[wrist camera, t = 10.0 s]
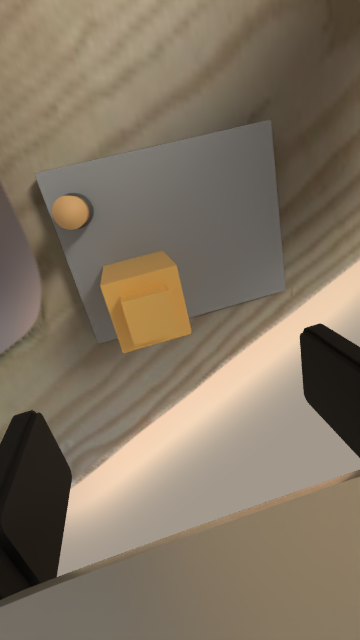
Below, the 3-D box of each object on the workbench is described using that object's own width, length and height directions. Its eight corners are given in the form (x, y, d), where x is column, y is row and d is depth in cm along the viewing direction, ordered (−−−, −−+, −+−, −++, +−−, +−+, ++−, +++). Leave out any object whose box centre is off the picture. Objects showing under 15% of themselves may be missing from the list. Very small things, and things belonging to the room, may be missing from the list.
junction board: (262, 123, 25) (304, 102, 19) (278, 286, 30) (314, 305, 25) (39, 174, 23) (15, 167, 18) (98, 337, 29) (95, 369, 23)
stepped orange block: (162, 250, 25) (180, 270, 19) (176, 305, 27) (196, 341, 21) (103, 266, 25) (99, 291, 18) (121, 321, 27) (123, 363, 20)
